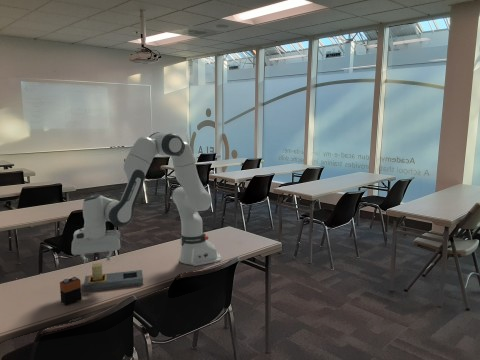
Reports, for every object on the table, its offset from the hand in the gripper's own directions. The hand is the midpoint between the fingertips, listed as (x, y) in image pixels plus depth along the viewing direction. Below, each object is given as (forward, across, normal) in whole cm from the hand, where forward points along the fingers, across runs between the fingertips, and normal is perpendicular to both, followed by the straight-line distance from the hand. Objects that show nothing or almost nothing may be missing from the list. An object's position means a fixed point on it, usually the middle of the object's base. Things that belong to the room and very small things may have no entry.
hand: (97, 261), depth 166 cm
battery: (+11, +10, +13) cm, 20 cm away
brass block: (+11, 0, 0) cm, 11 cm away
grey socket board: (+11, -6, 0) cm, 13 cm away
